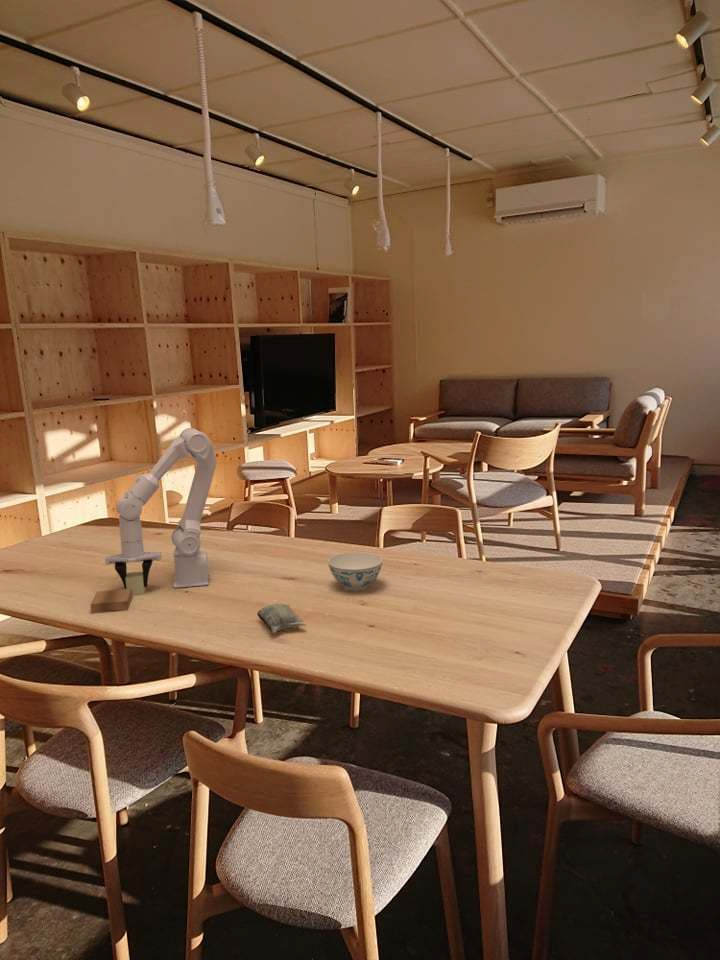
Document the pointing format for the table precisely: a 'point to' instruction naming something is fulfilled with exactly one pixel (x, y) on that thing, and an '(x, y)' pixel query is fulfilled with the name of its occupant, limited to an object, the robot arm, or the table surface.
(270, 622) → the packaged food
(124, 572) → the robot arm
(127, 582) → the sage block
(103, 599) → the walnut box
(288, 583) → the table surface
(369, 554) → the chinaware
